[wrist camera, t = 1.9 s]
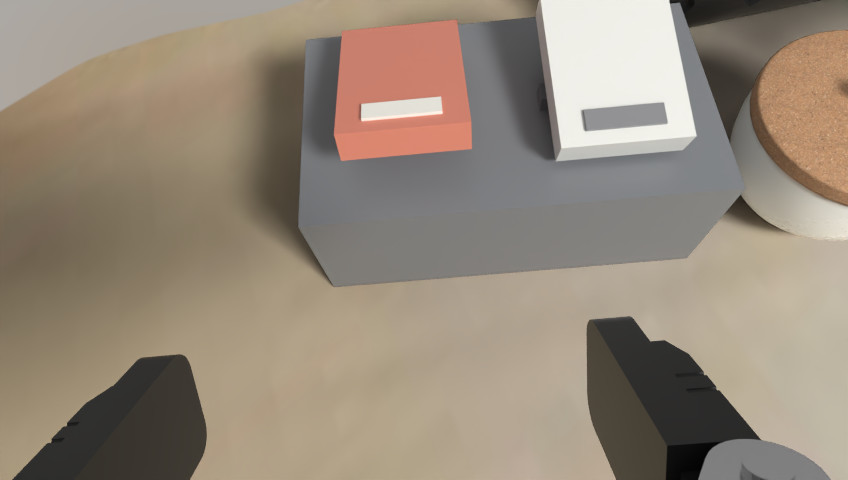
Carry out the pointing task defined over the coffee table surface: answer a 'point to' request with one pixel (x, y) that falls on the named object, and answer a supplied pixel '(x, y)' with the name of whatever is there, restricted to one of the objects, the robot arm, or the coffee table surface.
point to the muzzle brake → (728, 9)
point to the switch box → (505, 179)
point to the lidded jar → (798, 138)
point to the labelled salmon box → (401, 92)
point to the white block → (613, 78)
